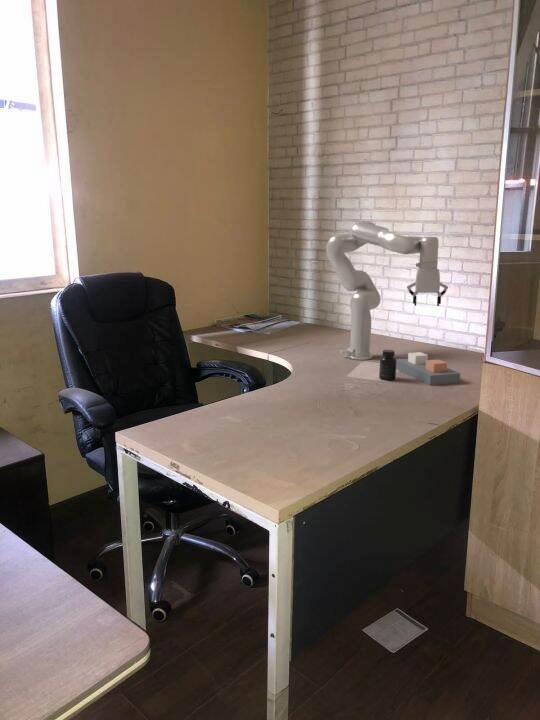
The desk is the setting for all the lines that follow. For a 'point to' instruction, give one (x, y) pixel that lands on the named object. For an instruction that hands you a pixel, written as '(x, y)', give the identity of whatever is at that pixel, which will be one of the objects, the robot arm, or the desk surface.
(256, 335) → the desk surface
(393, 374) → the supplement bottle
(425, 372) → the key panel
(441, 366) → the terracotta key
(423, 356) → the off-white key
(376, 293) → the robot arm
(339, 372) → the desk surface
